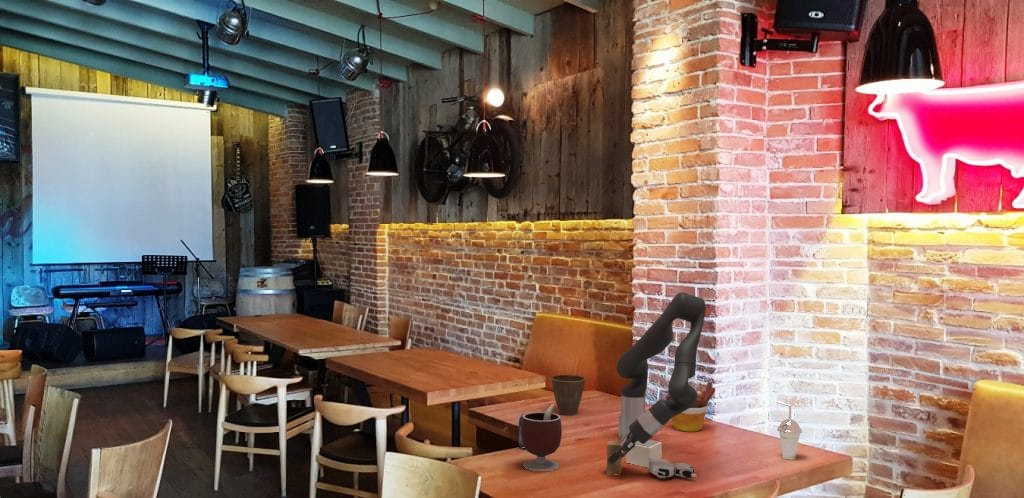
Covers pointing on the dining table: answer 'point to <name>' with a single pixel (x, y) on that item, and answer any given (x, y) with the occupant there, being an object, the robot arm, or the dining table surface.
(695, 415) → the bucket of meat
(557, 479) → the dining table surface
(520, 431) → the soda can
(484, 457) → the dining table surface
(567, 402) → the plant pot
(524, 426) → the mate gourd
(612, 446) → the walnut block
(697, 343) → the robot arm
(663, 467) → the robot toy
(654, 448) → the block
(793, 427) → the cup with straw
